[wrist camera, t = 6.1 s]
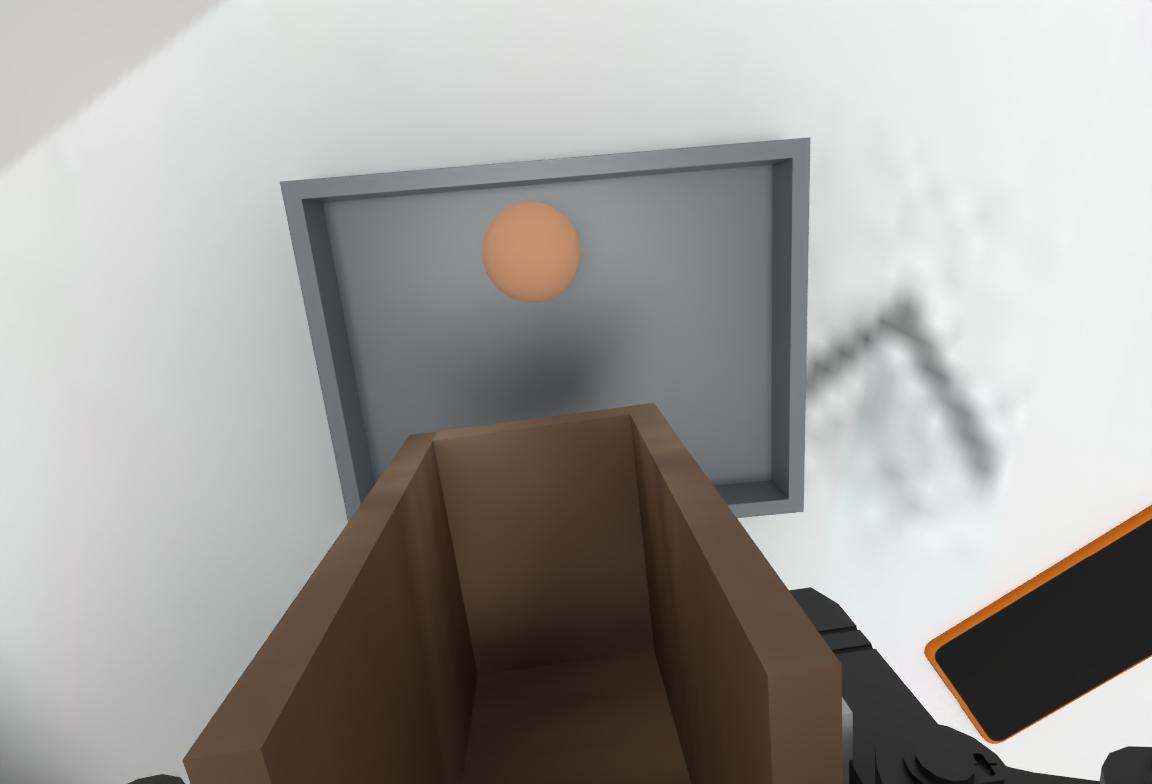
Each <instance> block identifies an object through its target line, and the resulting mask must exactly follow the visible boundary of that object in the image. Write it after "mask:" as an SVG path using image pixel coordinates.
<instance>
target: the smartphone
mask: <svg viewBox="0 0 1152 784" xmlns="http://www.w3.org/2000/svg"><path fill="white" fill-rule="evenodd" d="M925 655H926V657H927V658H928V660H929V661H930V663H931V664H932V666H933V667H934V669H935V670H936V671H937V673H938V674H939V676H940V677H941V679H942V680H943V681H944V683H945V684H946V686H947V687H948V689H949V690H950V691H951V692H952V694H953V695H954V696H955V698H956V699H957V701H958V702H959V703H960V706H961V707H962V709H963V710H964V711H965V713H966V714H967V716H968V717H969V719H970V720H971V721H972V723H973V724H974V726H975V727H976V729H977V730H978V731H979V733H980V734H981V736H982V737H983V738H984V739H985V740H986V741H987V742H989V743H992V744H997V743H1000V742H1003V741H1005V740H1007V739H1009V738H1010V737H1012V736H1014V735H1016V734H1017V733H1019V732H1021V731H1022V730H1024V729H1026V728H1028V727H1029V726H1031V725H1033V724H1035V723H1036V722H1038V721H1040V720H1042V719H1043V718H1045V717H1047V716H1049V715H1050V714H1052V713H1054V712H1056V711H1057V710H1059V709H1061V708H1062V707H1064V706H1066V705H1068V704H1069V703H1071V702H1073V701H1075V700H1076V699H1078V698H1080V697H1082V696H1083V695H1085V694H1087V693H1089V692H1090V691H1092V690H1094V689H1096V688H1097V687H1099V686H1101V685H1102V684H1104V683H1106V682H1108V681H1109V680H1111V679H1113V678H1115V677H1116V676H1118V675H1120V674H1122V673H1123V672H1125V671H1127V670H1129V669H1130V668H1132V667H1134V666H1136V665H1137V664H1139V663H1141V662H1142V661H1144V660H1146V659H1148V658H1149V657H1151V656H1152V505H1151V506H1150V507H1148V508H1146V509H1145V510H1143V511H1142V512H1140V513H1138V514H1137V515H1135V516H1133V517H1132V518H1130V519H1129V520H1127V521H1125V522H1124V523H1122V524H1120V525H1119V526H1117V527H1116V528H1114V529H1112V530H1111V531H1109V532H1107V533H1106V534H1104V535H1103V536H1101V537H1099V538H1098V539H1096V540H1094V541H1093V542H1091V543H1090V544H1088V545H1086V546H1085V547H1083V548H1081V549H1080V550H1078V551H1076V552H1075V553H1073V554H1072V555H1070V556H1068V557H1067V558H1065V559H1063V560H1062V561H1060V562H1059V563H1057V564H1055V565H1054V566H1052V567H1050V568H1049V569H1047V570H1046V571H1044V572H1042V573H1041V574H1039V575H1037V576H1036V577H1034V578H1033V579H1031V580H1029V581H1028V582H1026V583H1024V584H1023V585H1021V586H1020V587H1018V588H1016V589H1015V590H1013V591H1011V592H1010V593H1008V594H1007V595H1005V596H1003V597H1002V598H1000V599H998V600H997V601H995V602H994V603H992V604H990V605H989V606H987V607H985V608H984V609H982V610H981V611H979V612H977V613H976V614H974V615H972V616H971V617H969V618H968V619H966V620H964V621H963V622H961V623H959V624H958V625H956V626H955V627H953V628H951V629H950V630H948V631H946V632H945V633H943V634H942V635H940V636H938V637H937V638H935V639H933V640H932V641H930V642H929V643H928V644H927V646H926V647H925Z"/></svg>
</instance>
